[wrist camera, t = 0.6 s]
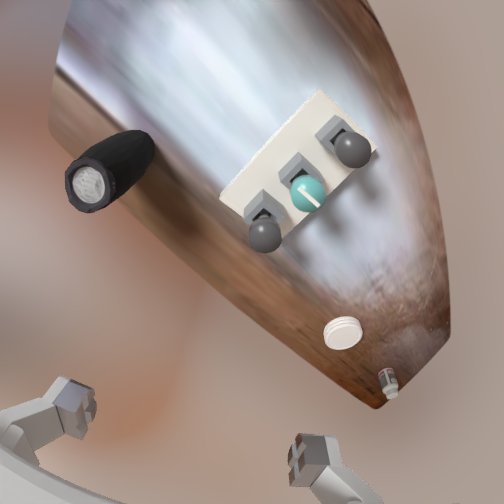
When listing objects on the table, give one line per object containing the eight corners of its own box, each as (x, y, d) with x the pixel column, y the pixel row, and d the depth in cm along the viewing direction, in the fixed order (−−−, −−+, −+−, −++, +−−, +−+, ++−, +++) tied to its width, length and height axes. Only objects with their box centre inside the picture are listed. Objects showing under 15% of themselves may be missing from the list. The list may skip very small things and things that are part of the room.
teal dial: (302, 160, 45) (308, 173, 39) (323, 180, 46) (333, 196, 41) (280, 182, 47) (284, 198, 41) (302, 201, 48) (309, 219, 43)
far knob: (263, 200, 49) (263, 218, 43) (285, 218, 50) (288, 237, 45) (243, 221, 51) (242, 240, 45) (265, 237, 52) (266, 258, 47)
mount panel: (317, 88, 46) (328, 91, 39) (371, 143, 50) (387, 154, 44) (220, 192, 56) (215, 210, 50) (276, 235, 61) (278, 257, 55)
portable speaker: (113, 127, 49) (55, 156, 33) (160, 127, 50) (114, 156, 33) (114, 170, 54) (62, 214, 37) (159, 172, 54) (118, 219, 38)
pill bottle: (379, 378, 90) (386, 402, 82) (376, 371, 88) (382, 396, 79) (394, 371, 88) (401, 395, 80) (391, 364, 86) (399, 389, 78)
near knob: (342, 119, 41) (355, 127, 36) (363, 141, 43) (378, 151, 37) (321, 141, 43) (330, 151, 38) (342, 162, 45) (354, 175, 39)
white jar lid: (322, 342, 79) (324, 352, 76) (324, 317, 74) (326, 327, 71) (357, 338, 78) (360, 348, 76) (362, 312, 73) (365, 322, 70)
